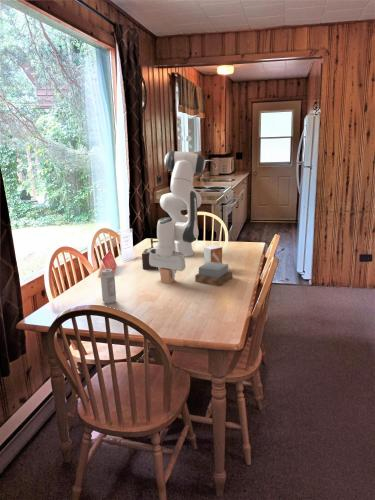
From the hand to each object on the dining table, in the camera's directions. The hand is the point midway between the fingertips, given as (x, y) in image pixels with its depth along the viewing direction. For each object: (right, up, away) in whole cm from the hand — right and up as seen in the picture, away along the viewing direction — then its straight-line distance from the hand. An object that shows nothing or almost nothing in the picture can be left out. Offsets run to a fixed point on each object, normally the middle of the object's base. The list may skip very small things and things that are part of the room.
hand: (167, 276), depth 206 cm
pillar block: (0, -3, +1) cm, 3 cm away
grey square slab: (+23, +1, 0) cm, 24 cm away
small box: (+24, +2, +17) cm, 30 cm away
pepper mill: (-9, +4, +27) cm, 29 cm away
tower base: (+24, -2, +1) cm, 24 cm away
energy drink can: (-25, -10, -24) cm, 36 cm away
